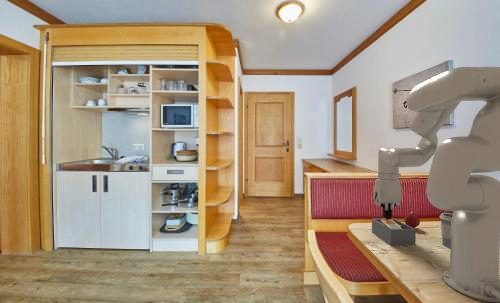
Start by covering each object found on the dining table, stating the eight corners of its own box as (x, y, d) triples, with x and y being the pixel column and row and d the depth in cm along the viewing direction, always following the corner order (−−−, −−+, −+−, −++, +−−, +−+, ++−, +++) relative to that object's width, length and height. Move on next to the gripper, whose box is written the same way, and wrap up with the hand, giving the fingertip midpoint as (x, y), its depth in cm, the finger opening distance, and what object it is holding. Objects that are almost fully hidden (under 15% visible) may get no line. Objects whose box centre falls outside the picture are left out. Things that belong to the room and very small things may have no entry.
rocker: (404, 233, 88) (405, 230, 88) (392, 234, 88) (393, 231, 88) (391, 221, 96) (392, 219, 96) (380, 222, 96) (381, 219, 96)
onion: (414, 232, 98) (415, 214, 98) (401, 227, 103) (401, 210, 103) (422, 229, 100) (422, 212, 100) (408, 225, 106) (409, 209, 105)
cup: (467, 251, 81) (468, 219, 80) (446, 249, 82) (447, 218, 81) (453, 242, 88) (454, 212, 87) (434, 241, 89) (435, 212, 88)
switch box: (415, 244, 86) (415, 229, 86) (390, 245, 86) (390, 230, 86) (393, 231, 99) (393, 218, 98) (371, 232, 98) (371, 218, 98)
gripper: (398, 174, 98) (398, 214, 99) (366, 175, 98) (365, 215, 99) (411, 177, 91) (410, 221, 92) (376, 178, 90) (375, 222, 91)
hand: (387, 218), depth 95 cm, fingers closed
